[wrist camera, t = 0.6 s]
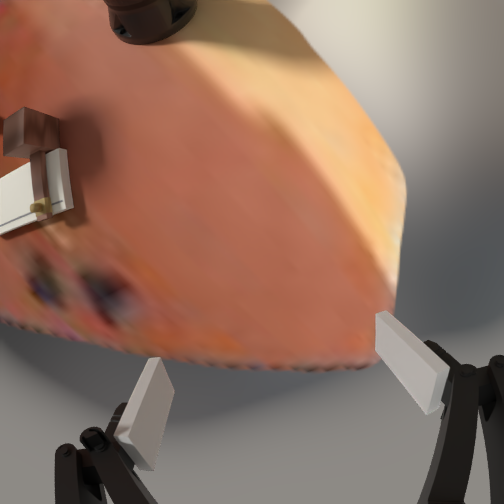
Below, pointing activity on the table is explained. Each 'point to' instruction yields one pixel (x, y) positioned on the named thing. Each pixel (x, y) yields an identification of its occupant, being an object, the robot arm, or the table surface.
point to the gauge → (33, 151)
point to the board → (21, 193)
